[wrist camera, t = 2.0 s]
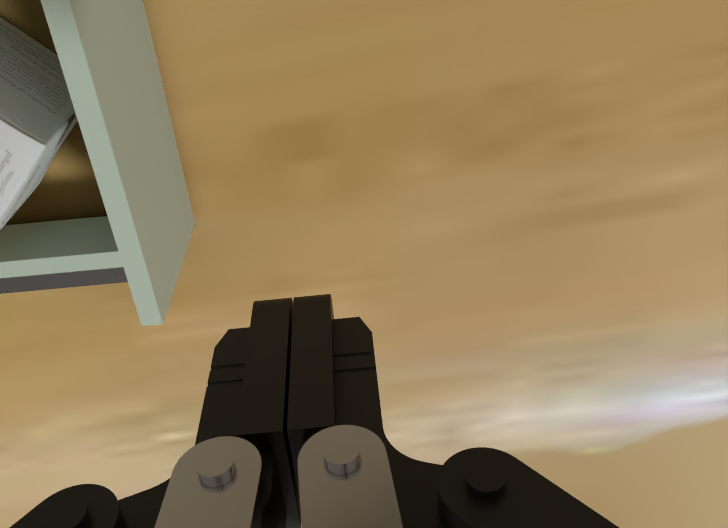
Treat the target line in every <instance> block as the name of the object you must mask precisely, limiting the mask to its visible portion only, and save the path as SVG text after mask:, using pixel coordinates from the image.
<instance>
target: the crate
mask: <svg viewBox="0 0 728 528" xmlns="http://www.w3.org/2000/svg"><path fill="white" fill-rule="evenodd" d="M41 3H42V7H43V10H44V13H45V16H46V20H47V23H48V26H49V29H50V32H51V36H52V39H53V42H54V45H55V48H56V52H57V55H58V58H59V61H60V65H61V68H62V71H63V74H64V77H65V81H66V84H67V87H68V90H69V94H70V97H71V100H72V103H73V106H74V110H75V113H76V116H77V119H78V122H79V126H80V129H81V132H82V135H83V139H84V142H85V145H86V148H87V151H88V155H89V158H90V161H91V164H92V168H93V171H94V174H95V177H96V180H97V184H98V187H99V190H100V193H101V196H102V200H103V203H104V206H105V209H106V213H107V216H102V217H91V218H80V219H69V220H58V221H47V222H36V223H25V224H14V225H4V226H3V228H2V229H1V230H0V278H9V277H20V276H31V275H42V274H53V273H64V272H75V271H86V270H96V269H107V268H118V267H124V270H125V274H126V277H127V280H128V283H129V287H130V290H131V293H132V296H133V299H134V303H135V306H136V309H137V312H138V316H139V319H140V322H141V325H142V326H148V325H158V324H163V322H164V319H165V316H166V313H167V310H168V306H169V303H170V300H171V297H172V294H173V291H174V288H175V284H176V281H177V278H178V275H179V272H180V269H181V266H182V262H183V259H184V256H185V253H186V250H187V247H188V244H189V240H190V237H191V234H192V231H193V228H194V225H195V221H194V217H193V213H192V208H191V204H190V200H189V195H188V191H187V187H186V183H185V178H184V174H183V170H182V165H181V161H180V157H179V153H178V148H177V144H176V140H175V135H174V131H173V127H172V123H171V118H170V114H169V110H168V106H167V101H166V97H165V93H164V88H163V84H162V80H161V76H160V71H159V67H158V63H157V58H156V54H155V50H154V46H153V41H152V37H151V33H150V29H149V24H148V20H147V16H146V11H145V7H144V3H143V0H41Z"/></svg>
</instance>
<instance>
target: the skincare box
mask: <svg viewBox="0 0 728 528" xmlns="http://www.w3.org/2000/svg"><path fill="white" fill-rule="evenodd" d="M77 121H78V119H77V116H76V113H75V110H74V106H73V103H72V100H71V97H70V94H69V90H68V87H67V84H66V81H65V77H64V74H63V71H62V68H61V65H60V61H59V58H58V55H57V54H55V53H54V52H52V51H51V50H49V49H48V48H46V47H45V46H43V45H42V44H40V43H39V42H37V41H36V40H34V39H33V38H31V37H30V36H28V35H27V34H25V33H24V32H22V31H21V30H19V29H18V28H16V27H15V26H13V25H12V24H10V23H9V22H7V21H6V20H4V19H3V18H1V17H0V230H1V229H2V228H3V226H4V225H5V224H6V223H7V222H8V220H9V219H10V218H11V217H12V216H13V215H14V213H15V212H16V211H17V210H18V209H19V207H20V206H21V205H22V204H23V203H24V202H25V201H26V199H27V198H28V197H29V196H30V195H31V193H32V192H33V191H34V190H35V189H36V188H37V186H38V185H39V184H40V182H41V181H42V179H43V177H44V175H45V173H46V171H47V169H48V167H49V166H50V164H51V162H52V160H53V159H54V157H55V155H56V154H57V152H58V150H59V149H60V147H61V146H62V144H63V142H64V141H65V139H66V138H67V136H68V135H69V133H70V132H71V130H72V129H73V127H74V126H75V124H76V123H77Z"/></svg>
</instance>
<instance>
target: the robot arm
mask: <svg viewBox="0 0 728 528" xmlns="http://www.w3.org/2000/svg"><path fill="white" fill-rule="evenodd" d="M301 523H302V528H619V527H617V526H616V525H614V524H613V523H611V522H610V521H608V520H607V519H606V518H604V517H603V516H601V515H600V514H598V513H597V512H595V511H594V510H592V509H591V508H589V507H588V506H586V505H585V504H583V503H582V502H580V501H579V500H577V499H576V498H574V497H573V496H571V495H570V494H568V493H567V492H565V491H564V490H563V489H561V488H560V487H558V486H557V485H555V484H554V483H552V482H551V481H549V480H548V479H546V478H545V477H543V476H542V475H540V474H539V473H537V472H536V471H534V470H533V469H531V468H530V467H528V466H527V465H525V464H524V463H523V462H521V461H519V460H518V459H516V458H515V457H513V456H512V455H510V454H508V453H506V452H503V451H501V450H497V449H493V448H470V449H466V450H463V451H461V452H458V453H456V454H455V455H453V456H452V457H450V458H449V459H448V460H447V461H446V462H445V463H444V465H438V464H432V463H427V462H422V461H418V460H415V459H412V458H409V457H407V456H405V455H403V454H402V453H400V452H399V451H397V450H396V449H395V448H394V447H393V446H392V445H391V444H390V443H389V441H388V440H387V438H386V436H385V434H384V430H383V425H382V416H381V407H380V399H379V390H378V381H377V373H376V364H375V355H374V347H373V338H372V332H371V331H370V329H369V328H368V327H367V326H366V325H365V323H364V322H363V321H362V320H361V318H360V317H353V318H342V319H334V315H333V307H332V299H331V294H326V295H315V296H304V297H294V300H293V301H292V298H285V299H274V300H263V301H254V303H253V310H252V317H251V324H250V327H248V328H238V329H229V330H228V331H227V333H226V334H225V335H224V336H223V338H222V339H221V340H220V341H219V343H218V344H217V345H216V346H215V349H214V354H213V359H212V364H211V371H210V374H209V379H208V387H207V388H206V393H205V398H204V403H203V408H202V413H201V418H200V423H199V428H198V433H197V438H196V443H195V446H194V447H192V448H190V449H189V450H188V451H187V452H186V453H184V454H183V456H182V457H181V458H180V459H179V460H178V462H177V463H176V465H175V467H174V469H173V472H172V475H171V478H170V479H168V480H167V481H165V482H163V483H161V484H160V485H158V486H155V487H153V488H151V489H148V490H145V491H143V492H140V493H137V494H134V495H132V496H129V497H126V498H123V499H121V500H117V498H116V496H115V495H114V493H113V492H111V491H110V490H109V489H107V488H105V487H104V486H100V485H96V484H81V485H76V486H72V487H69V488H66V489H63V490H61V491H59V492H57V493H55V494H53V495H51V496H50V497H48V498H47V499H45V500H44V501H43V502H41V503H40V504H39V505H37V506H36V507H35V508H34V509H32V510H31V511H30V512H29V513H27V514H26V515H25V516H24V517H22V518H21V519H20V520H19V521H17V522H16V523H15V524H14V525H12V526H11V527H10V528H301Z"/></svg>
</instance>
